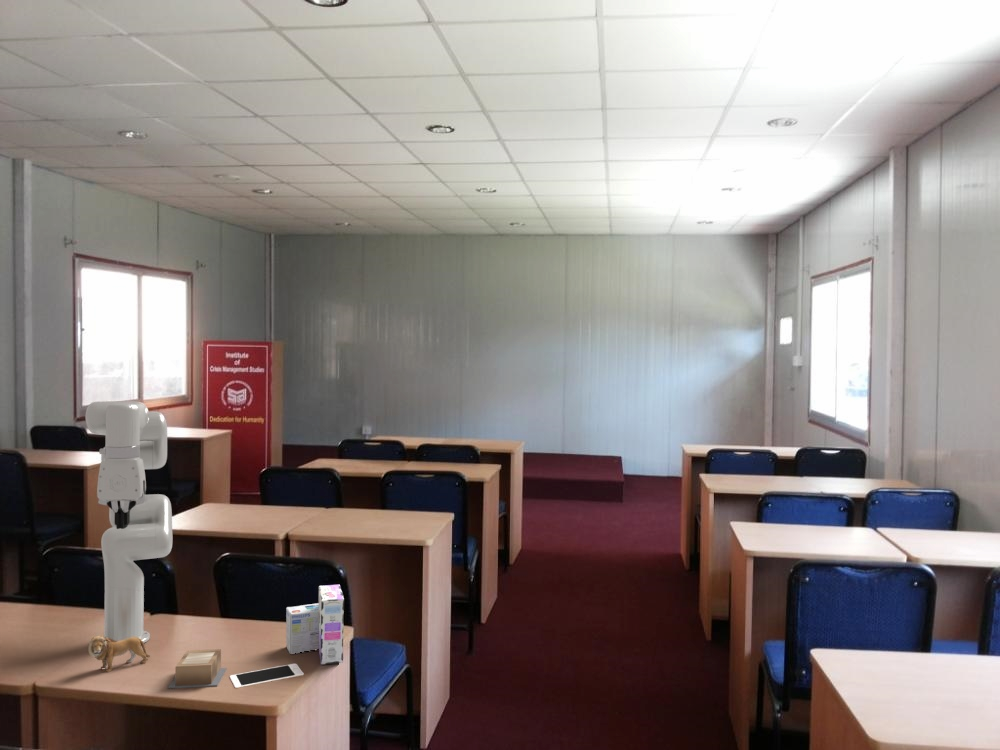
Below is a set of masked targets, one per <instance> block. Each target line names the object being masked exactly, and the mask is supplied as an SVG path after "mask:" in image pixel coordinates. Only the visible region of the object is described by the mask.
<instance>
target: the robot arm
mask: <svg viewBox="0 0 1000 750" xmlns="http://www.w3.org/2000/svg"><path fill="white" fill-rule="evenodd" d="M85 423H86V427H87V429H88V431H89V432H90V433H91V434H94V435H101V436H105V446H104V447H103V448H100V449H99V455H101V456H100V460H101V461H100V465H99V468H98V469H99V471H98V477H97V487H96V488H97V489H96V490H97V491H96V497H97V499H98V501H97V504H99V505H103V506H107V507H109V513H108V515H109V516H108V517H109V518H108V519H109V524H110V525H111V527H109V528H108V529H106V530H105V531H104V532H103V534H102V536H101V539H100V541H101V542H100V543H101V544H100V545H101V546H100V547H101V553H102V560H103V569H104V570H103V571H104V632H103V633H104V635H103V636H104V637H105V638H111V639H113V640H115V641H121V640H125V639H127V638H130V637H138V638H140V639H141V640H142V641H143V643H144V644H145V643H146V642H148V641H149V640H150V638H151V637H150V636H151V635H150V634H151V633H150V632H148V631H147V630H144V624H145V623H144V621H145V618H144V613H145V612H144V609H145V607H144V602H145V598H144V597H145V596H144V595H145V591H144V588H145V587H144V586H145V576H144V573H143V571H142V569H141V567H139V566H138V565H137V564H136V563H135V562H134V561H140V560H150V559H157V558H158V559H159V558H160V559H161V558H165V557H167V556H168V555H169V554H170V553H171V552H172V548H173V542H174V541H173V538H174V537H173V513H172V511H173V510H172V503H171V501H170V498H169V497H168V496H166V495H165V494H159V493H157V494H155V493H154V494H146V493H147V492H146V491H147V481H146V472H145V470H158V469H161V468H163V467H164V466H165V465H166V463H167V460H168V425H167V420H166V418H165V416H164V414H163V413H162V412H160V411H149V408H148V407H147V405H146V404H145V403H143V402H141V401H136V400H132V401H131V400H129V401H128V400H125V401H123V400H121V401H120V400H118V401H116V400H114V401H112V400H111V401H107V400H106V401H105V400H104V401H93V402H90V403H89V404H88V406H87V408H86V410H85ZM140 645H141V644H140Z"/></svg>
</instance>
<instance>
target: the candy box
mask: <svg viewBox="0 0 1000 750" xmlns="http://www.w3.org/2000/svg"><path fill="white" fill-rule="evenodd" d="M318 603H319V650H318V653H319V659H320V665H330V664H342V663H344V616H345V614H344V612H345V611H344V610H345V598H344V594H343V591H342V587H341V585H340V584H328V585H319V586H318Z"/></svg>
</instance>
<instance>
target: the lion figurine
mask: <svg viewBox="0 0 1000 750" xmlns="http://www.w3.org/2000/svg"><path fill="white" fill-rule="evenodd" d="M140 644H141V645H140ZM87 647H88V654H89V656H90V657H92V658H95V659H96V660H97V661H101V662H102V666H100V668H105V672H106V671H110V672H111V671H112V669H113V660H114V657H120V656H124V654H126V653H128V652H129V653H130V658H129V659H127V660H126V663H127V664H128V663H132V662H133V660H134V659H135V658H136V657H137V656H138V657H141V658H142V660H141V661H140V664H142V665H143V664H144V665H145V664H146V663H147V658H150V657H151V655H150V654H148V653H147V650H146V645H145V643H143V641H142V640H141V639H140V638H138V637H130V638H127V639H125V640H121V641H115V640H113V639H111V638H105V637H104V635H103V636H102V635H97V636H94V637H92V638H91V640H89V643H88V646H87ZM106 668H107V669H106Z"/></svg>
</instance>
